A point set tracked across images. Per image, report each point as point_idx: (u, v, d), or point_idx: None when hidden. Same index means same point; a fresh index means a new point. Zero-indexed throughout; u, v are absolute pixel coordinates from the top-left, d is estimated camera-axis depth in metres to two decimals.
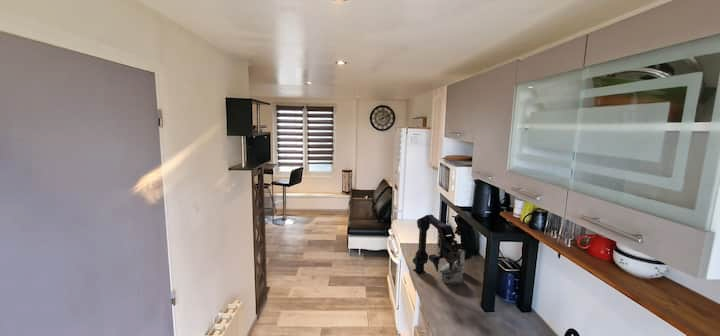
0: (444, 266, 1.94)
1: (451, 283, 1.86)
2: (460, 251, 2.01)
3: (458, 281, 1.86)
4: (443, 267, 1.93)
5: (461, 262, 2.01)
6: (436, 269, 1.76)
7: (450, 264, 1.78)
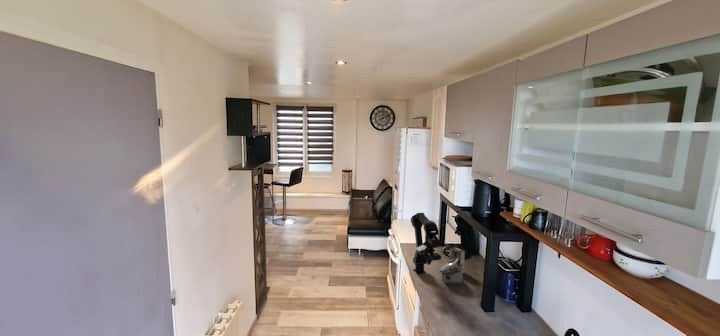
0: (444, 266, 1.94)
1: (451, 283, 1.86)
2: (460, 251, 2.01)
3: (458, 281, 1.86)
4: (443, 267, 1.93)
5: (461, 262, 2.01)
6: None
7: None
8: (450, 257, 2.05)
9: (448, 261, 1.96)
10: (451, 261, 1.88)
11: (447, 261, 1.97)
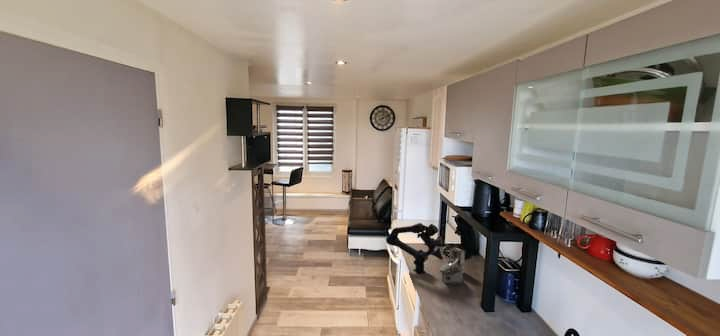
0: (444, 266, 1.94)
1: (451, 283, 1.86)
2: (460, 251, 2.01)
3: (458, 281, 1.86)
4: (443, 267, 1.93)
5: (461, 262, 2.01)
6: (440, 258, 1.95)
7: None
8: (450, 257, 2.05)
9: (448, 261, 1.96)
10: (451, 261, 1.88)
11: (447, 261, 1.97)
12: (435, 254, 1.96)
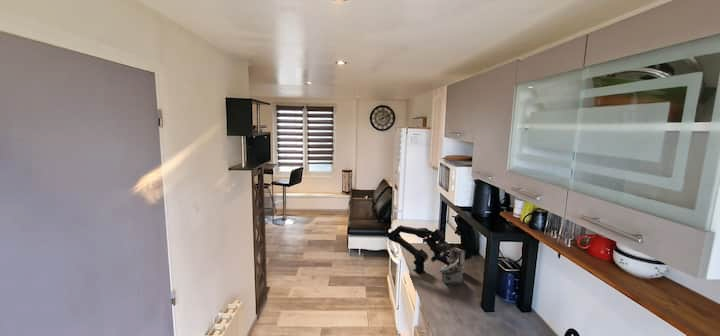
0: (444, 266, 1.94)
1: (451, 283, 1.86)
2: (460, 251, 2.01)
3: (458, 281, 1.86)
4: (443, 267, 1.93)
5: (461, 262, 2.01)
6: (446, 263, 1.93)
7: None
8: (450, 257, 2.05)
9: (448, 261, 1.96)
10: (452, 262, 1.88)
11: None
12: (441, 259, 1.94)
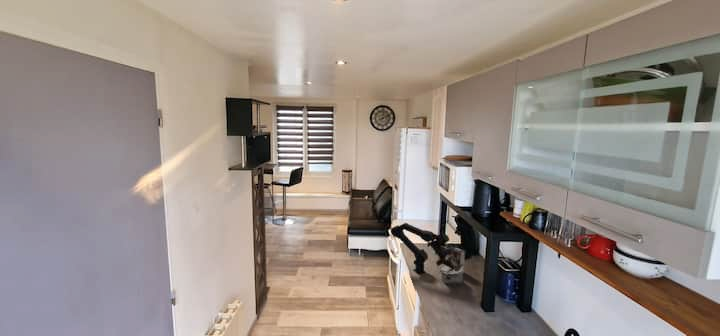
0: (446, 268, 1.94)
1: (451, 283, 1.86)
2: (460, 251, 2.01)
3: (458, 281, 1.86)
4: (445, 269, 1.93)
5: (461, 262, 2.01)
6: (451, 267, 1.91)
7: None
8: None
9: None
10: (456, 269, 1.87)
11: None
12: (446, 263, 1.92)
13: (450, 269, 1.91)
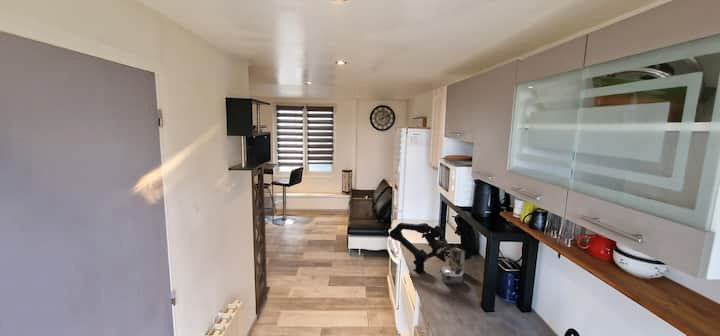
0: (446, 269, 1.94)
1: (451, 283, 1.86)
2: (460, 251, 2.01)
3: (458, 281, 1.86)
4: (445, 270, 1.92)
5: (461, 262, 2.01)
6: (443, 260, 1.92)
7: None
8: (450, 257, 2.05)
9: (452, 267, 1.95)
10: (457, 272, 1.87)
11: (451, 266, 1.96)
12: (438, 256, 1.94)
13: (450, 271, 1.91)
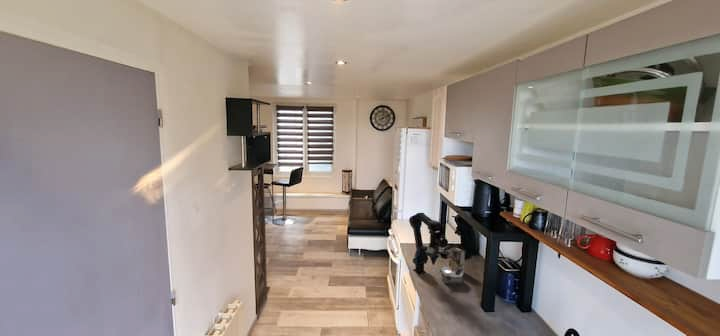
0: (446, 269, 1.94)
1: (451, 283, 1.86)
2: (460, 251, 2.01)
3: (458, 281, 1.86)
4: (445, 270, 1.92)
5: (461, 262, 2.01)
6: (432, 262, 1.88)
7: None
8: (450, 257, 2.05)
9: (452, 267, 1.95)
10: (457, 273, 1.87)
11: (451, 266, 1.96)
12: None
13: (450, 271, 1.91)
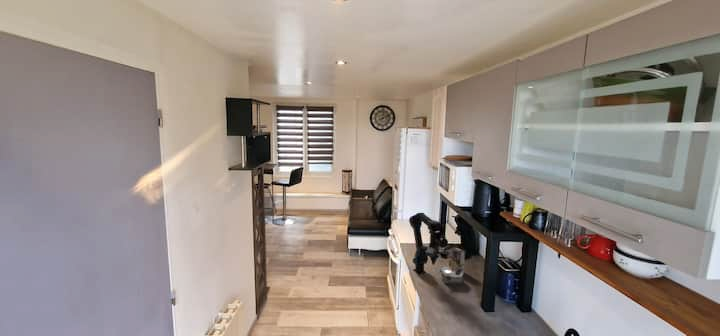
0: (446, 269, 1.94)
1: (451, 283, 1.86)
2: (460, 251, 2.01)
3: (458, 281, 1.86)
4: (445, 270, 1.92)
5: (461, 262, 2.01)
6: (432, 262, 1.88)
7: None
8: (450, 257, 2.05)
9: (452, 267, 1.95)
10: (457, 273, 1.87)
11: (451, 266, 1.96)
12: None
13: (450, 271, 1.91)
